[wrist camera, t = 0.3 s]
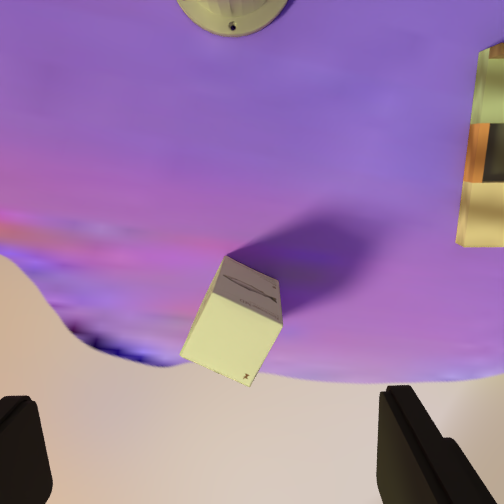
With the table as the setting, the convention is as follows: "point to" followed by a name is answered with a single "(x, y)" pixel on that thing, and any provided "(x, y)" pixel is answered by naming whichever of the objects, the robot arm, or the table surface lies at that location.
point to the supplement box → (235, 322)
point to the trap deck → (485, 157)
